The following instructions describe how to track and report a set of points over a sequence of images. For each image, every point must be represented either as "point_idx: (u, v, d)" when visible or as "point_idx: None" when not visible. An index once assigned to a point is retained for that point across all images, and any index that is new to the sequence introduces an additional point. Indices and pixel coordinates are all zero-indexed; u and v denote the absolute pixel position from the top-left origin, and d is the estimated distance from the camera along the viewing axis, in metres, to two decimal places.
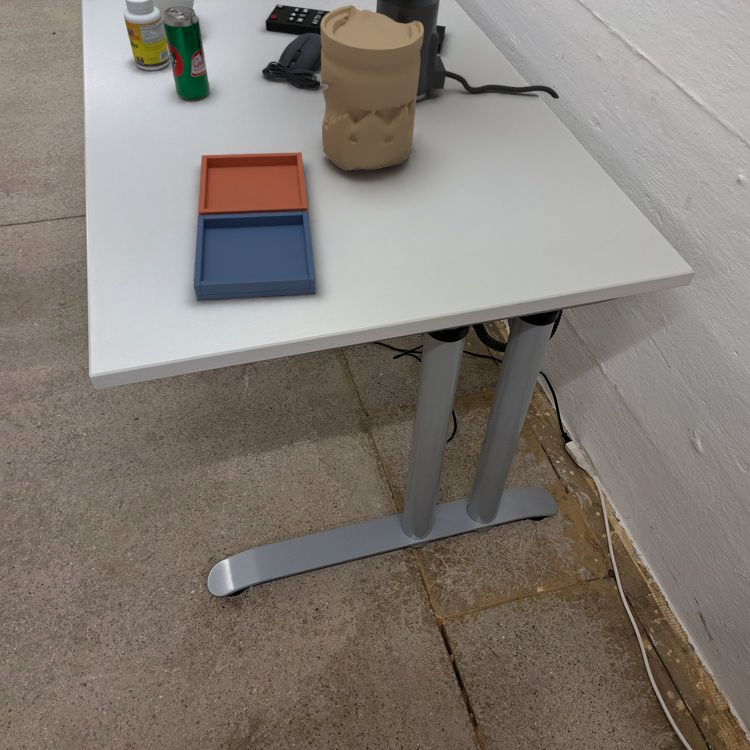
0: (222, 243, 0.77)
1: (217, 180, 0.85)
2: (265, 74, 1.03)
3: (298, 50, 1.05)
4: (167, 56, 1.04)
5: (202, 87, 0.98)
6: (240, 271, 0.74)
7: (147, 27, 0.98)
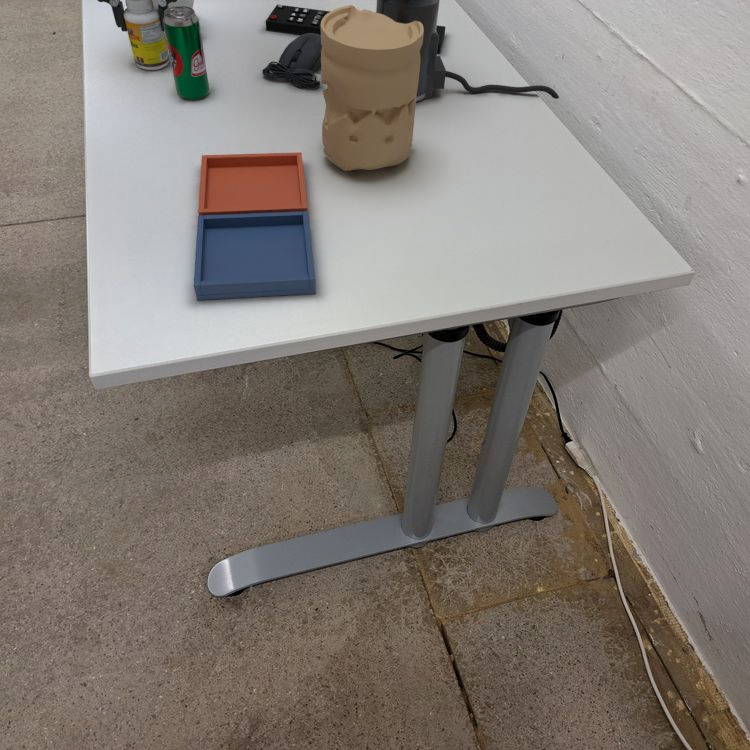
0: (222, 243, 0.77)
1: (217, 180, 0.85)
2: (265, 74, 1.03)
3: (298, 50, 1.05)
4: (167, 56, 1.04)
5: (202, 87, 0.98)
6: (240, 271, 0.74)
7: (147, 27, 0.98)
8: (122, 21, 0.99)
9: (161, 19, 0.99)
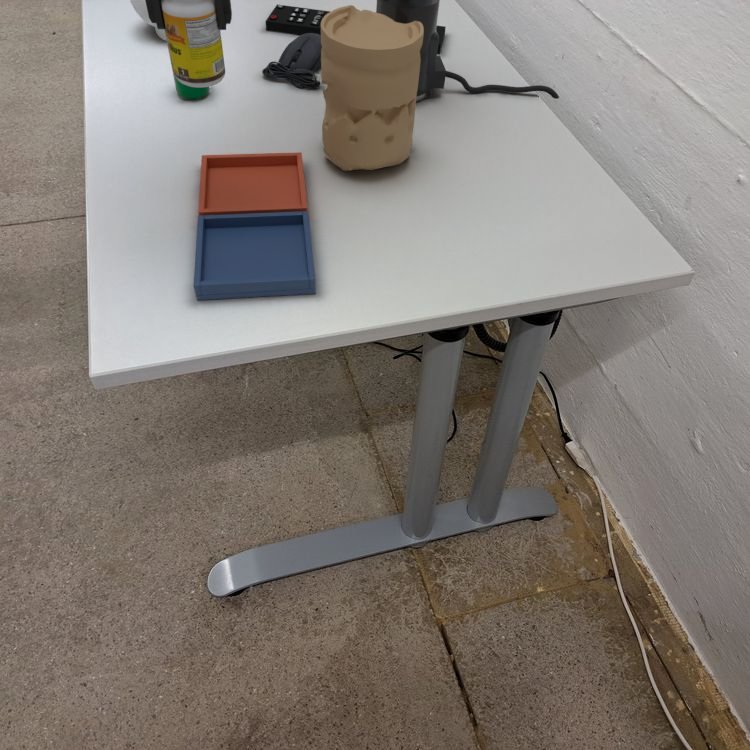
0: (222, 243, 0.77)
1: (217, 180, 0.85)
2: (265, 74, 1.03)
3: (298, 50, 1.05)
4: (223, 67, 0.70)
5: (202, 87, 0.98)
6: (240, 271, 0.74)
7: (197, 23, 0.64)
8: (159, 14, 0.65)
9: (218, 11, 0.65)
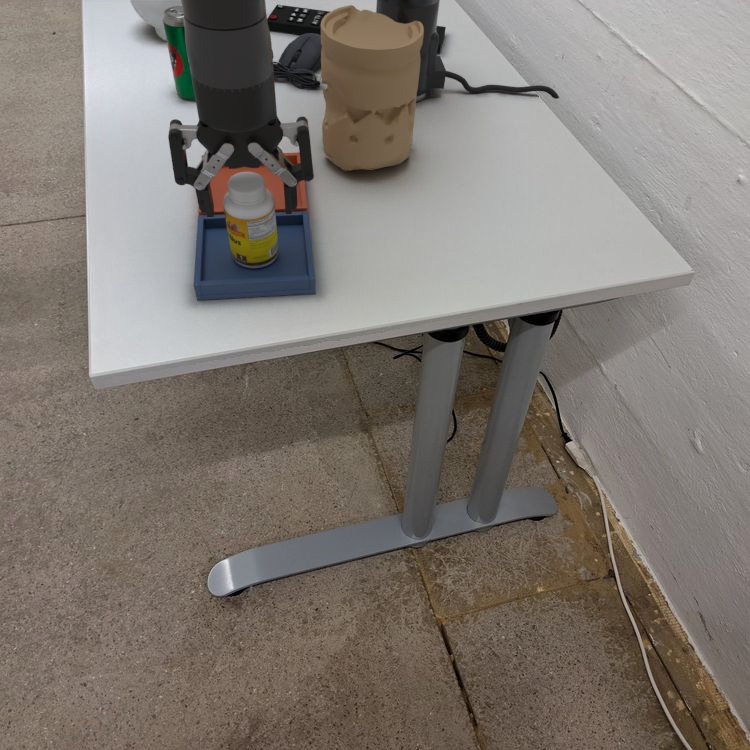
0: (222, 243, 0.77)
1: (217, 180, 0.85)
2: None
3: (298, 50, 1.05)
4: (277, 248, 0.75)
5: None
6: (240, 271, 0.74)
7: (257, 222, 0.69)
8: (209, 206, 0.68)
9: (286, 201, 0.69)
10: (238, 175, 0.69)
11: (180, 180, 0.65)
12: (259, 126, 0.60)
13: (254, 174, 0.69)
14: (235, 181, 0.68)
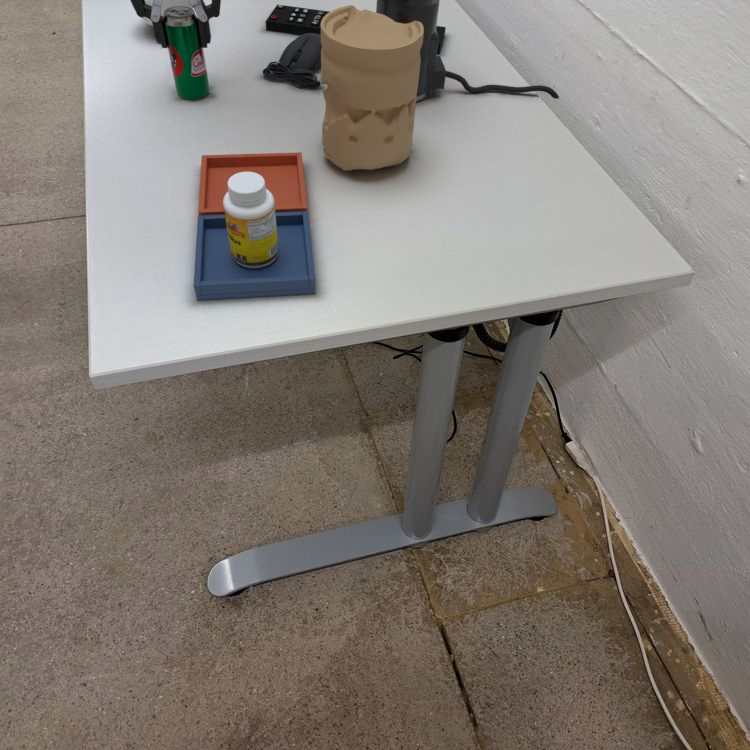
0: (222, 243, 0.77)
1: (217, 180, 0.85)
2: (265, 74, 1.03)
3: (298, 50, 1.05)
4: (277, 248, 0.75)
5: (202, 87, 0.98)
6: (240, 271, 0.74)
7: (257, 222, 0.69)
8: (163, 37, 0.92)
9: (201, 35, 0.92)
10: (238, 175, 0.69)
11: (140, 12, 0.89)
12: None
13: (254, 174, 0.69)
14: (235, 181, 0.68)
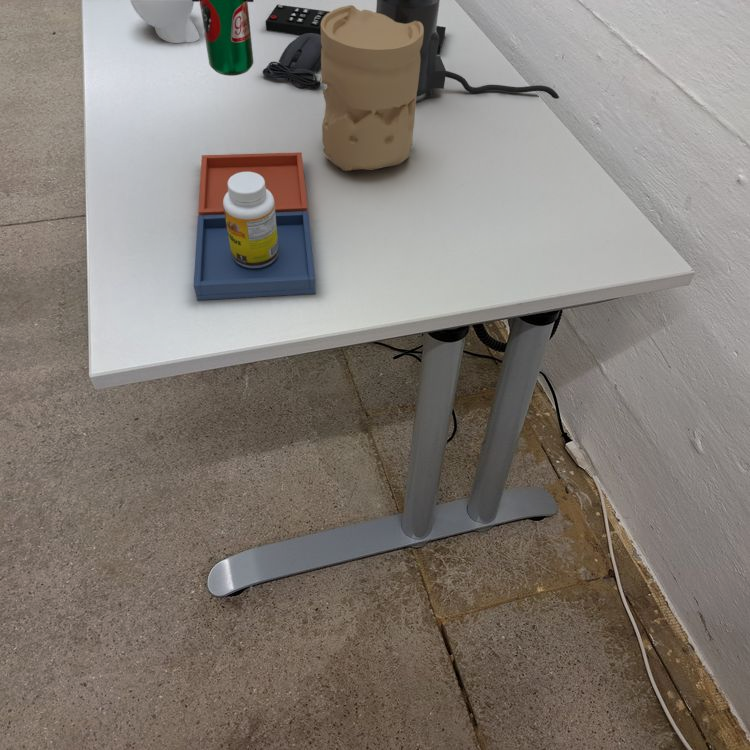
0: (222, 243, 0.77)
1: (217, 180, 0.85)
2: (265, 74, 1.03)
3: (298, 50, 1.05)
4: (277, 248, 0.75)
5: (245, 58, 0.72)
6: (240, 271, 0.74)
7: (257, 222, 0.69)
8: None
9: None
10: (238, 175, 0.69)
11: None
12: None
13: (254, 174, 0.69)
14: (235, 181, 0.68)
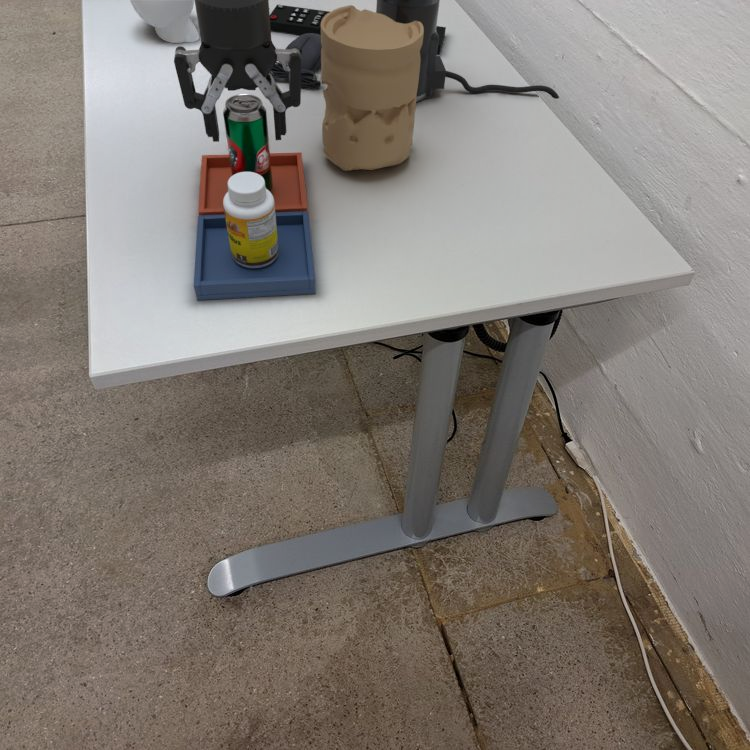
0: (222, 243, 0.77)
1: (217, 180, 0.85)
2: None
3: None
4: (277, 248, 0.75)
5: (266, 186, 0.82)
6: (240, 271, 0.74)
7: (257, 222, 0.69)
8: (215, 130, 0.76)
9: (276, 127, 0.76)
10: (238, 175, 0.69)
11: (189, 104, 0.72)
12: (255, 46, 0.67)
13: (254, 174, 0.69)
14: (235, 181, 0.68)
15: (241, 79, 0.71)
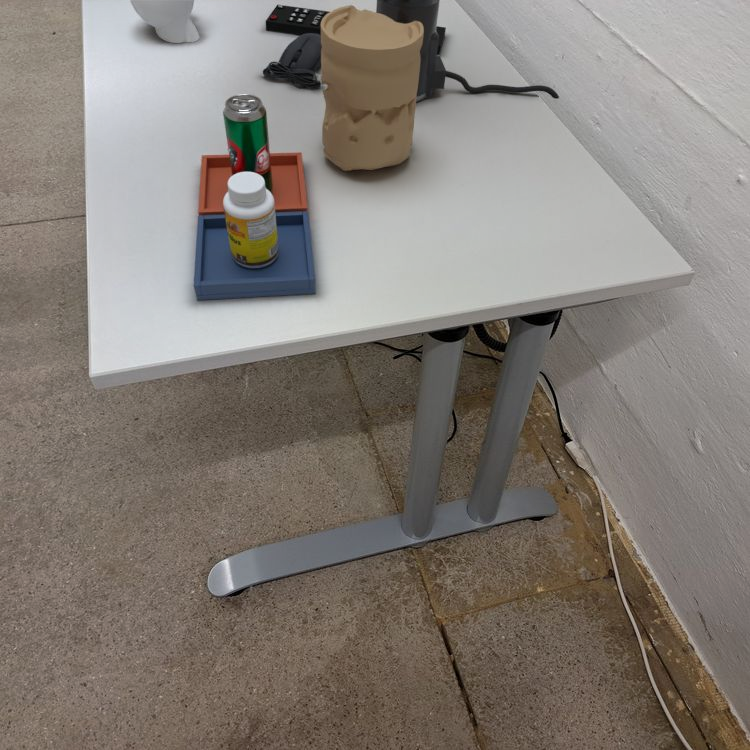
0: (222, 243, 0.77)
1: (217, 180, 0.85)
2: (266, 74, 1.03)
3: (298, 50, 1.05)
4: (277, 248, 0.75)
5: (266, 186, 0.82)
6: (240, 271, 0.74)
7: (257, 222, 0.69)
8: None
9: None
10: (238, 175, 0.69)
11: None
12: None
13: (254, 174, 0.69)
14: (235, 181, 0.68)
15: None
